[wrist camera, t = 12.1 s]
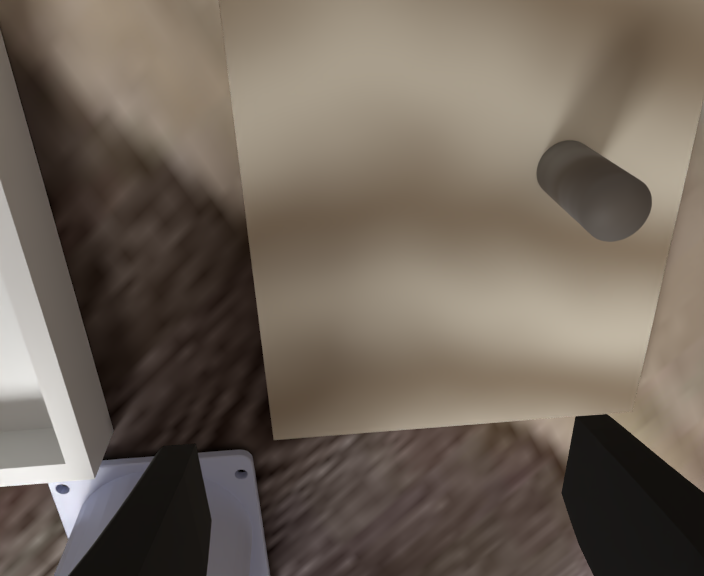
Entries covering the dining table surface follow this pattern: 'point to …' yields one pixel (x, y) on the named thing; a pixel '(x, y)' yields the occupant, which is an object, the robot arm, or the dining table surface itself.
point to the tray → (40, 327)
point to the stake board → (458, 201)
